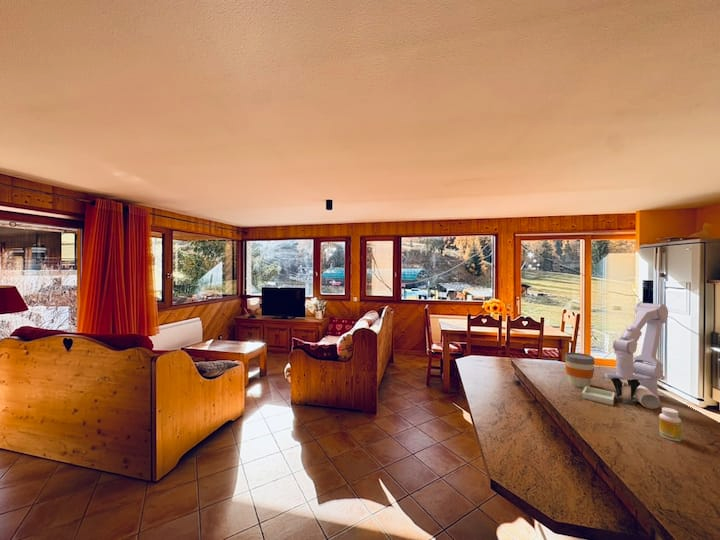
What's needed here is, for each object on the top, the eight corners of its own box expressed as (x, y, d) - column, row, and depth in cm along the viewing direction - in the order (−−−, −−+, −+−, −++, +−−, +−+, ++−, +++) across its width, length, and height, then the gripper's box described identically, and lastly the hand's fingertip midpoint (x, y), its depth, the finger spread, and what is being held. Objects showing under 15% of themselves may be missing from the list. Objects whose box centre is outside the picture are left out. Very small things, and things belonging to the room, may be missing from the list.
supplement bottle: (678, 443, 99) (677, 415, 99) (656, 435, 104) (656, 408, 104) (684, 438, 102) (683, 411, 102) (662, 431, 107) (662, 405, 107)
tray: (585, 391, 143) (585, 386, 143) (615, 397, 135) (614, 392, 135) (581, 398, 135) (581, 392, 135) (613, 405, 127) (613, 400, 127)
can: (663, 407, 122) (651, 396, 133) (656, 392, 123) (644, 382, 134) (644, 410, 125) (634, 399, 135) (637, 395, 126) (627, 385, 136)
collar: (613, 394, 138) (613, 391, 138) (638, 400, 132) (637, 396, 132) (612, 400, 132) (612, 397, 132) (637, 406, 126) (637, 402, 126)
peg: (619, 397, 135) (619, 381, 135) (631, 400, 132) (631, 383, 132) (619, 400, 132) (619, 383, 132) (630, 403, 129) (630, 386, 129)
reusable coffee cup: (592, 382, 153) (592, 354, 153) (596, 391, 142) (596, 360, 142) (564, 378, 160) (563, 351, 160) (565, 385, 149) (565, 356, 149)
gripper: (611, 367, 130) (611, 397, 130) (650, 369, 126) (650, 400, 126) (602, 362, 137) (602, 390, 137) (639, 364, 133) (639, 394, 133)
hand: (625, 395), depth 132 cm, fingers closed on peg, 4 cm apart
